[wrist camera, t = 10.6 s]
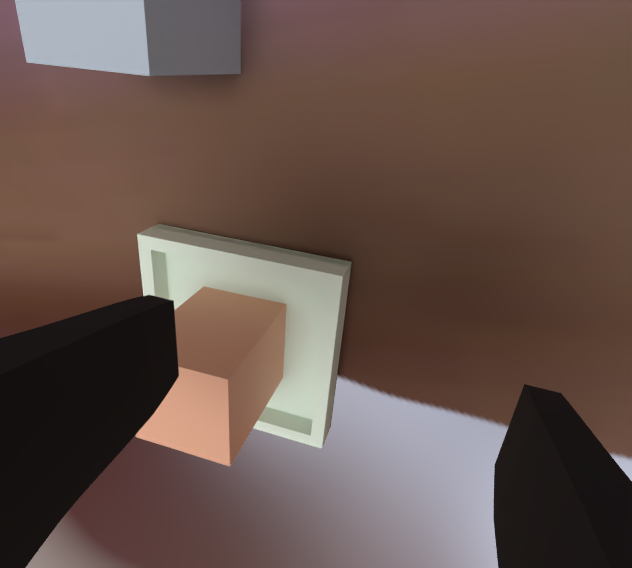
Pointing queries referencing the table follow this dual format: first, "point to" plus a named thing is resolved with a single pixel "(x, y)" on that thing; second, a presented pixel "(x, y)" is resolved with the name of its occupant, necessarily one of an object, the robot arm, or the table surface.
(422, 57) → the table surface
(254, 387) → the terracotta block
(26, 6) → the slate block
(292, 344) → the tray
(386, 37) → the table surface
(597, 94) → the table surface
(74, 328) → the robot arm
